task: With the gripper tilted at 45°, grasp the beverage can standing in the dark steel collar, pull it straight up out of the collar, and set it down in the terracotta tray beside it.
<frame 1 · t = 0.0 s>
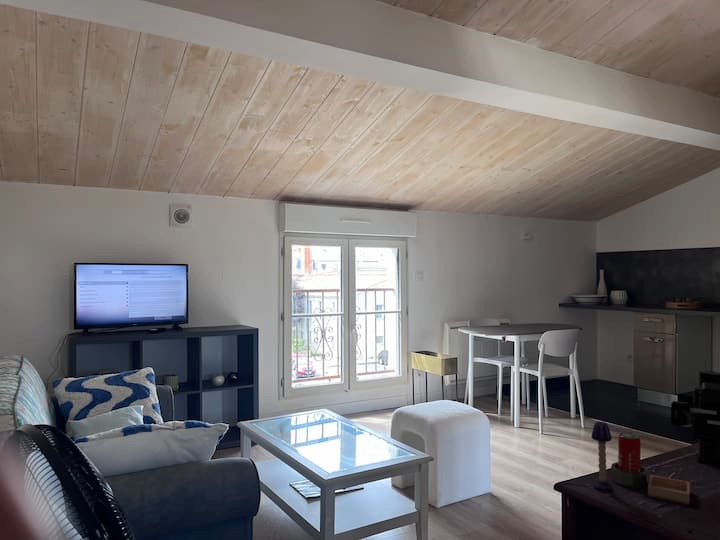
hand: (713, 425, 137), 17 cm above the table, tool horizontal, fingers open, 9 cm apart
toy lamp: (601, 489, 138), on the table
terracotta tray: (668, 494, 135), on the table
steel collar: (629, 481, 143), on the table
beverage can: (629, 482, 143), resting in steel collar
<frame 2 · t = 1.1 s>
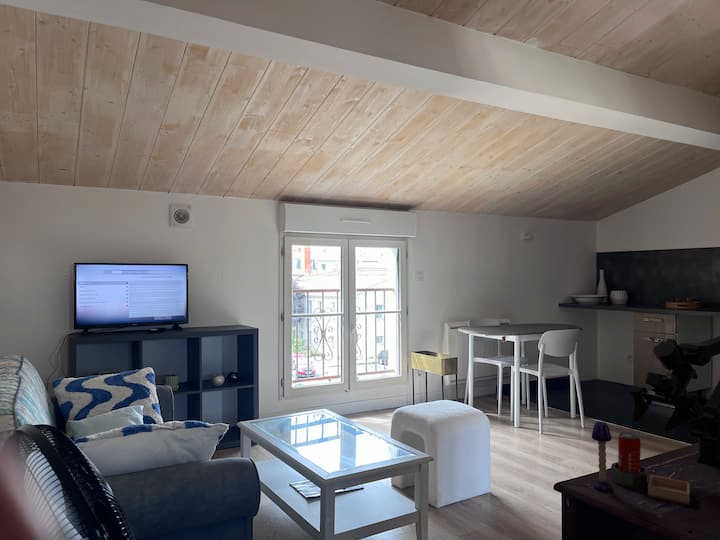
hand: (649, 425, 147), 14 cm above the table, tool tilted 45°, fingers open, 9 cm apart
nothing on the table moved.
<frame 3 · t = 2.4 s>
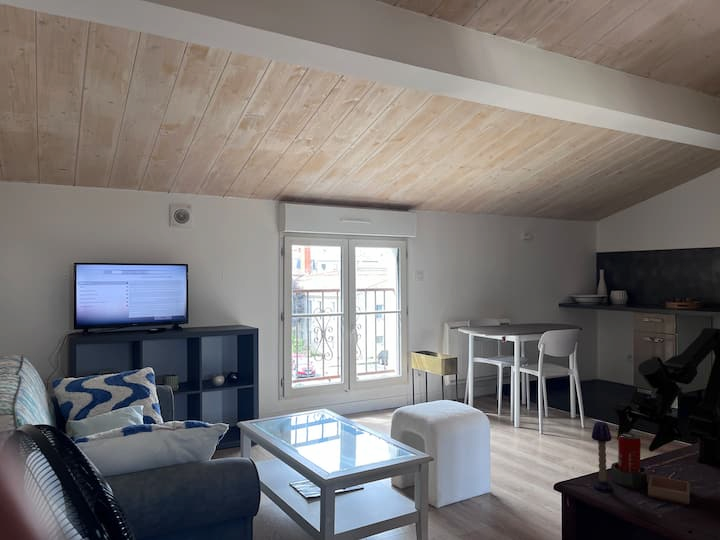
hand: (633, 445, 144), 9 cm above the table, tool tilted 45°, fingers open, 9 cm apart
nothing on the table moved.
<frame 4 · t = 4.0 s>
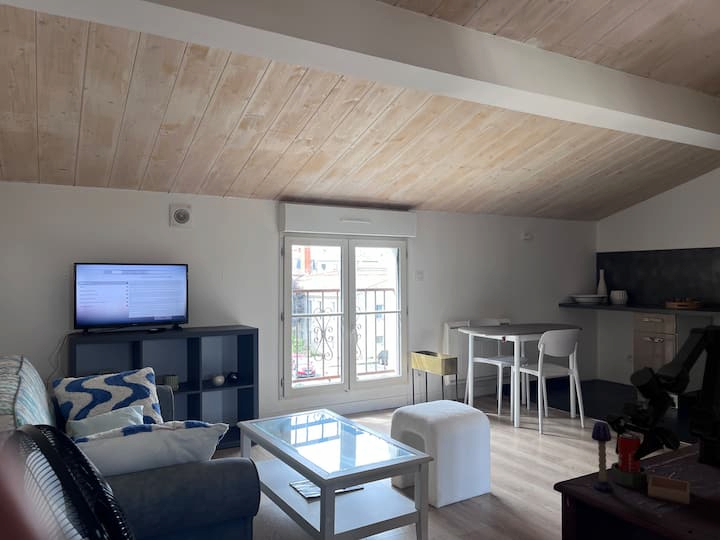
hand: (625, 456, 143), 7 cm above the table, tool tilted 45°, fingers closed on beverage can, 5 cm apart
beverage can: (629, 481, 143), resting in steel collar, touching gripper
everything else where it was.
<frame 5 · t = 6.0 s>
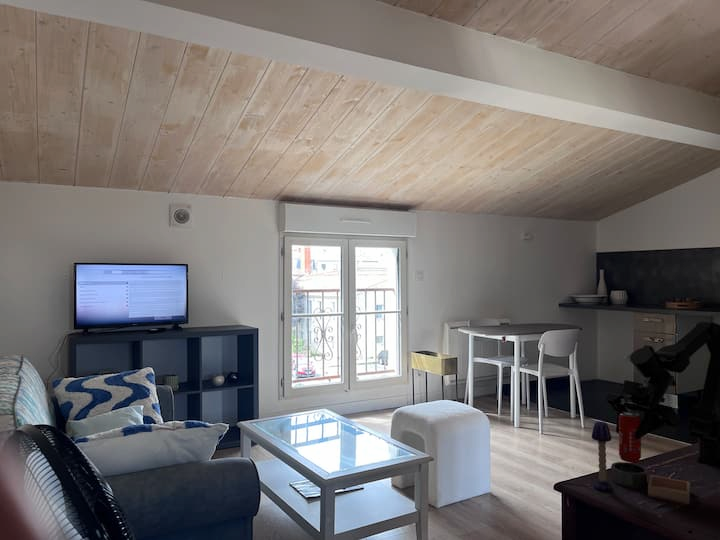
hand: (626, 435, 143), 12 cm above the table, tool tilted 45°, fingers closed on beverage can, 5 cm apart
beverage can: (629, 460, 143), point 5 cm above the table, touching gripper
everything else where it was.
when the fingers open (8 cm above the table, at t = 8.1 s): beverage can drops 1 cm, resting on terracotta tray.
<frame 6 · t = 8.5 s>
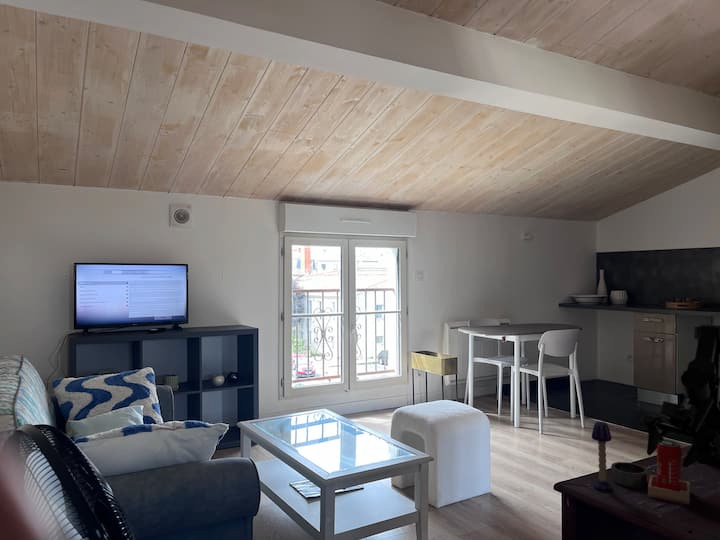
hand: (665, 460, 134), 9 cm above the table, tool tilted 45°, fingers open, 9 cm apart
beverage can: (668, 492, 135), resting on terracotta tray
everything else where it was.
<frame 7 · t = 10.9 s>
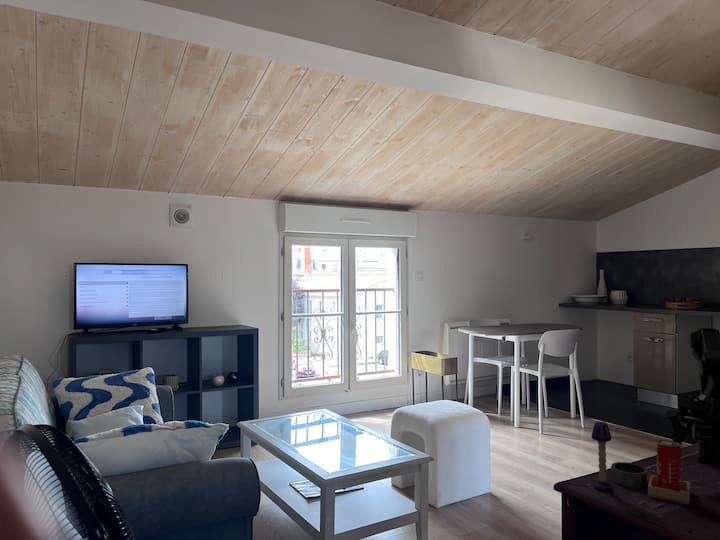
hand: (689, 451, 139), 9 cm above the table, tool tilted 40°, fingers open, 9 cm apart
nothing on the table moved.
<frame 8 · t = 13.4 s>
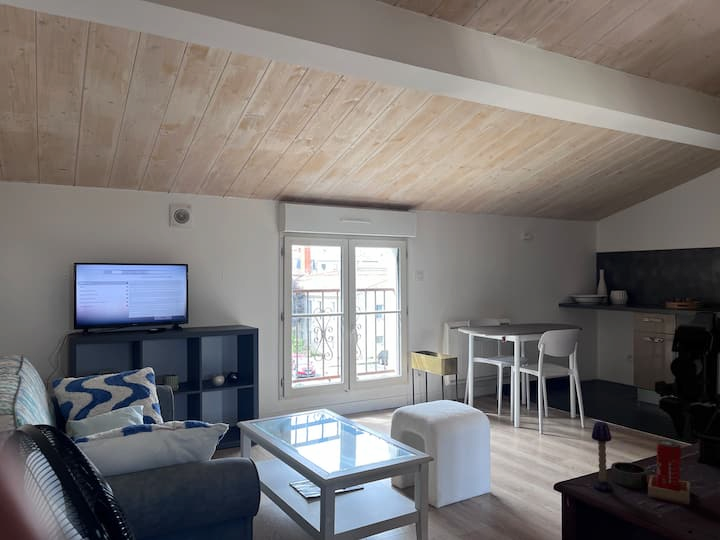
hand: (691, 435, 140), 13 cm above the table, tool pointing down, fingers open, 9 cm apart
nothing on the table moved.
at the end: beverage can 0.1 cm off-centre on the terracotta tray, point 0.4 cm above the terracotta tray's base; beverage can touching terracotta tray; beverage can tilted 0° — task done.
